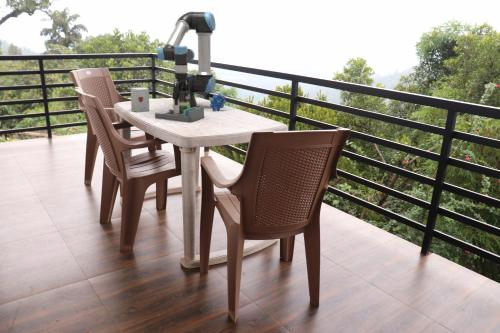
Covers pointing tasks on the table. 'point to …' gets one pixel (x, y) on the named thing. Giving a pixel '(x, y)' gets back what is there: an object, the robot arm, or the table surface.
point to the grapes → (217, 102)
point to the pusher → (185, 112)
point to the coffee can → (182, 102)
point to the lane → (191, 117)
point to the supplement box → (140, 99)
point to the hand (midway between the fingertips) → (181, 109)
